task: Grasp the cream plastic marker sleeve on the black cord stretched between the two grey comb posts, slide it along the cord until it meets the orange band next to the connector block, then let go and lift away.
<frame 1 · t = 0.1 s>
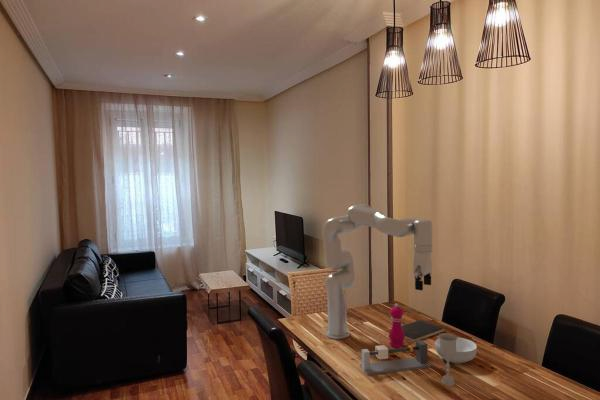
hand: (423, 287, 182), 31 cm above the table, tool pointing down, fingers open, 9 cm apart
cable comb: (395, 366, 175), on the table
pepper mill: (396, 345, 197), on the table
cereal bowl: (455, 360, 181), on the table
chalice: (447, 382, 162), on the table
sleeve: (381, 352, 174), point 7 cm above the table, slide at 0.0 cm
hardcover book: (417, 333, 213), on the table
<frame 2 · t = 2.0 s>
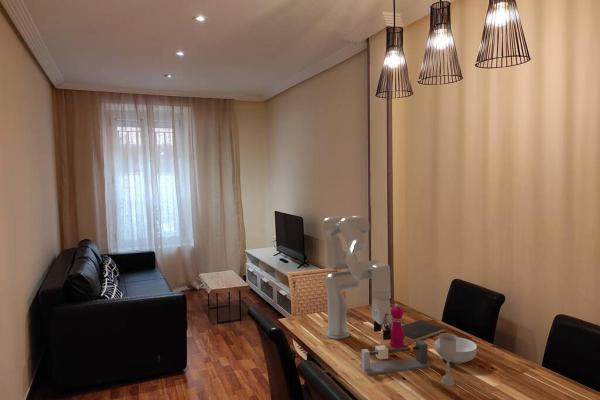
hand: (382, 335, 173), 14 cm above the table, tool pointing down, fingers open, 9 cm apart
nothing on the table moved.
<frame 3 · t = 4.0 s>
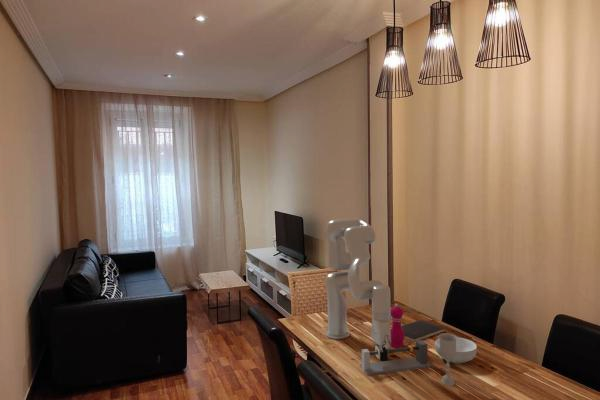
hand: (381, 357, 174), 5 cm above the table, tool pointing down, fingers closed on sleeve, 4 cm apart
sleeve: (381, 352, 174), point 7 cm above the table, slide at 0.0 cm, touching gripper
everything else where it was.
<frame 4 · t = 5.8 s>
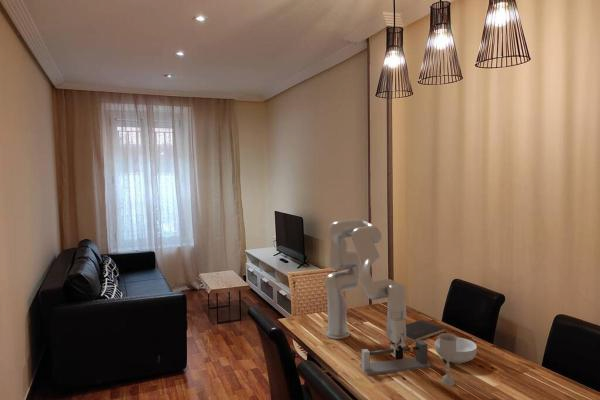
hand: (397, 356, 175), 5 cm above the table, tool pointing down, fingers closed on sleeve, 4 cm apart
sleeve: (396, 350, 175), point 7 cm above the table, slide at 6.8 cm, touching gripper
everything else where it was.
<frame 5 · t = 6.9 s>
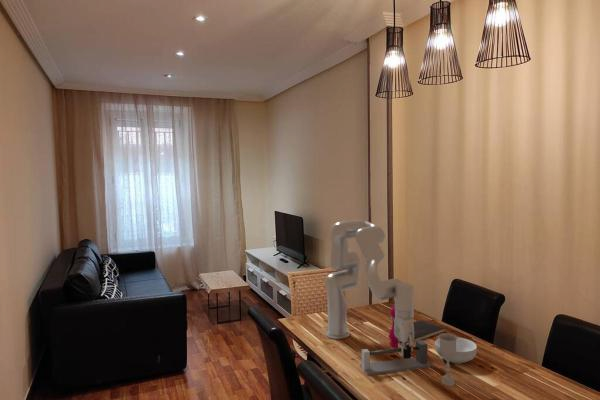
hand: (404, 355, 176), 5 cm above the table, tool pointing down, fingers closed on sleeve, 4 cm apart
sleeve: (404, 349, 176), point 7 cm above the table, slide at 10.3 cm, touching gripper
everything else where it was.
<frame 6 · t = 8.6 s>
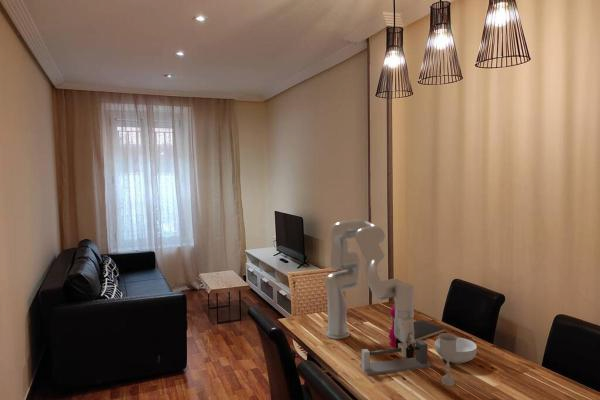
hand: (404, 352, 176), 6 cm above the table, tool pointing down, fingers open, 9 cm apart
sleeve: (404, 349, 176), point 7 cm above the table, slide at 10.3 cm
everything else where it was.
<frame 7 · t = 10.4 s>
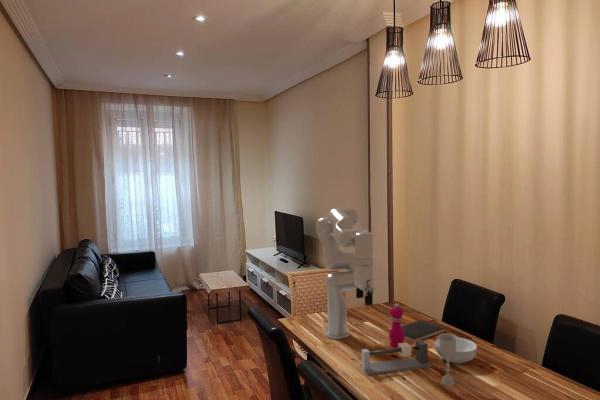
hand: (364, 301, 177), 27 cm above the table, tool pointing down, fingers open, 9 cm apart
nothing on the table moved.
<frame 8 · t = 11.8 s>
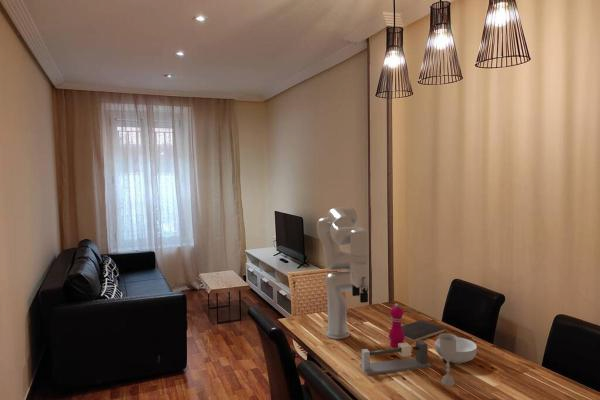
hand: (359, 298, 177), 28 cm above the table, tool pointing down, fingers open, 9 cm apart
nothing on the table moved.
at the end: sleeve slide at 10.3 cm; the gripper is holding nothing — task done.
